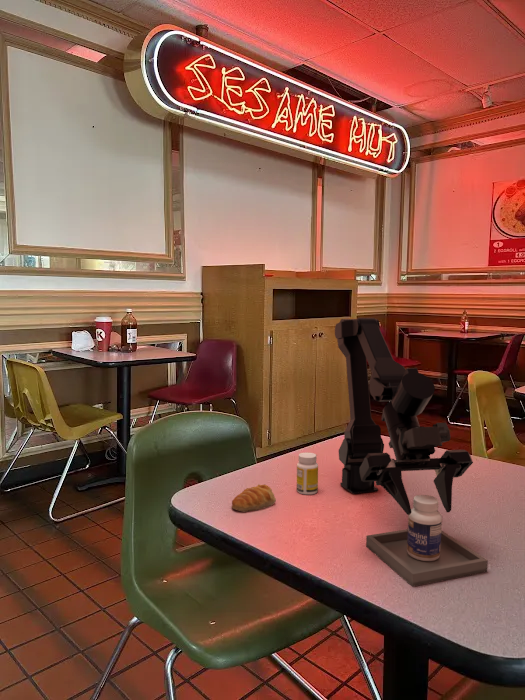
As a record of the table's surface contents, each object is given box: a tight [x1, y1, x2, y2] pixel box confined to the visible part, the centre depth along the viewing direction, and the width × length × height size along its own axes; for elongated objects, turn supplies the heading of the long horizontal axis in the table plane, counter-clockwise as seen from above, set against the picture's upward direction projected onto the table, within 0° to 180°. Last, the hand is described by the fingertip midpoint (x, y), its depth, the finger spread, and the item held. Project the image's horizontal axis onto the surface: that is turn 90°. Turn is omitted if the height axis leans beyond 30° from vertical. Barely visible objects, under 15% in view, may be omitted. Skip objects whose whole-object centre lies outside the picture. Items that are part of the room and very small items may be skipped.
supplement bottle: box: [296, 452, 319, 495], centre depth 123 cm, size 5×5×8 cm
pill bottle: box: [407, 494, 443, 561], centre depth 92 cm, size 5×5×10 cm
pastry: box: [231, 484, 277, 513], centre depth 115 cm, size 9×7×4 cm
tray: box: [365, 528, 489, 588], centre depth 92 cm, size 14×14×2 cm
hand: (429, 512), depth 90 cm, fingers open, 7 cm apart
